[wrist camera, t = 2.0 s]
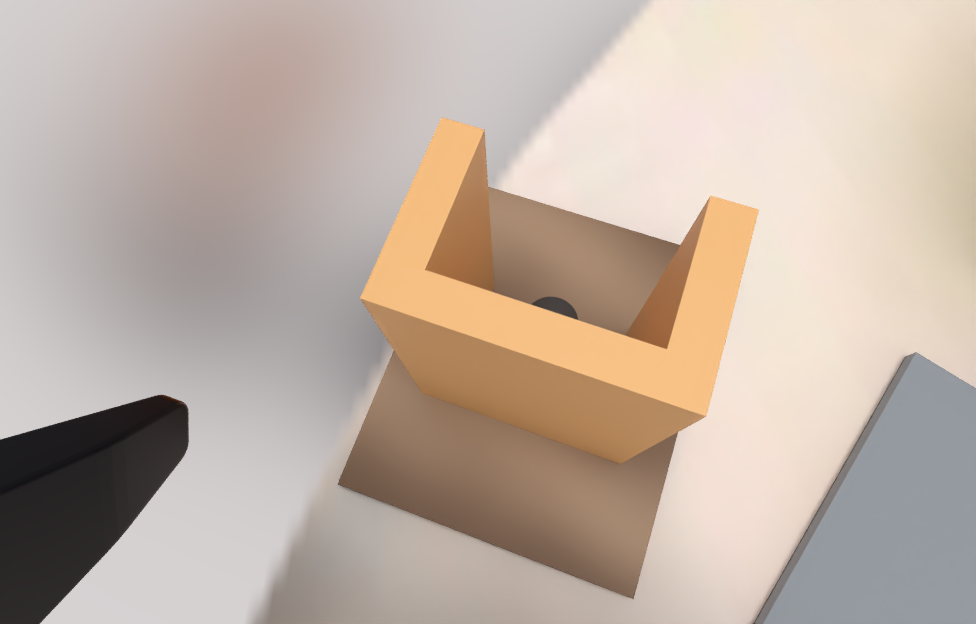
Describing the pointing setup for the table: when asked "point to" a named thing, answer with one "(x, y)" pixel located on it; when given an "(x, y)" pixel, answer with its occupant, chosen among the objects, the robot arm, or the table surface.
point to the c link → (549, 318)
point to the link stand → (514, 451)
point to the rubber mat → (895, 516)
